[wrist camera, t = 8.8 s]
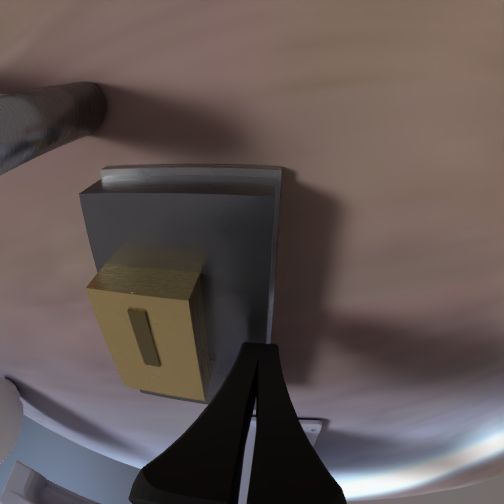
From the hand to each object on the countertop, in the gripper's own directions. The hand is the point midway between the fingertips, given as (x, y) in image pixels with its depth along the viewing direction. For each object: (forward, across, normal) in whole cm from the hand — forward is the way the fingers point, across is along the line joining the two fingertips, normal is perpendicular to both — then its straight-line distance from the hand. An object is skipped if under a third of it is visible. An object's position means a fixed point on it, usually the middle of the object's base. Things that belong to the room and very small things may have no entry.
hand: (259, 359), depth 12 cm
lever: (+3, +13, -11) cm, 17 cm away
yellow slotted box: (+1, +4, 0) cm, 4 cm away
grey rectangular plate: (+3, +3, 0) cm, 5 cm away
